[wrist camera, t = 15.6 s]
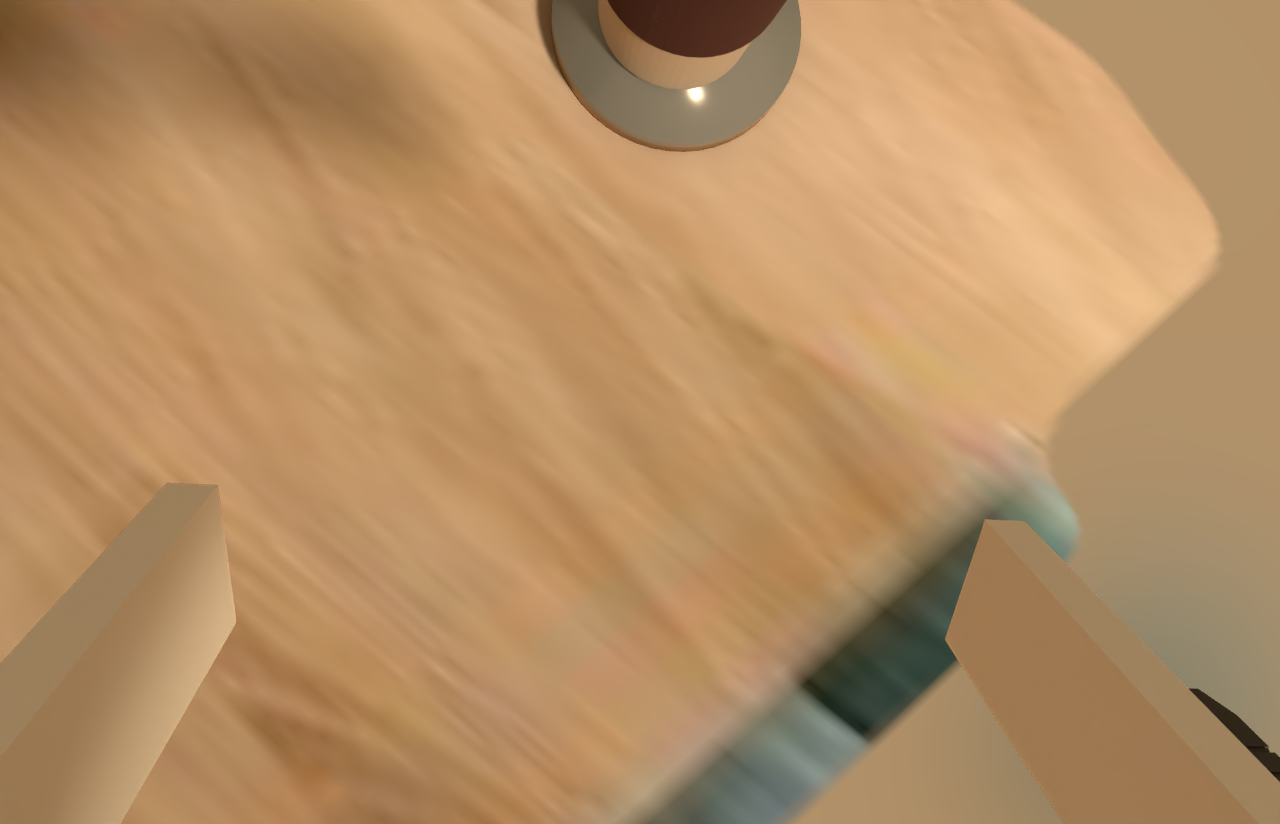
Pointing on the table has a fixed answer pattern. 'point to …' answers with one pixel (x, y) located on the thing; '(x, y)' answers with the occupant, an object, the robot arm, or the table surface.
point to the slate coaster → (669, 112)
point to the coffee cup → (683, 36)
